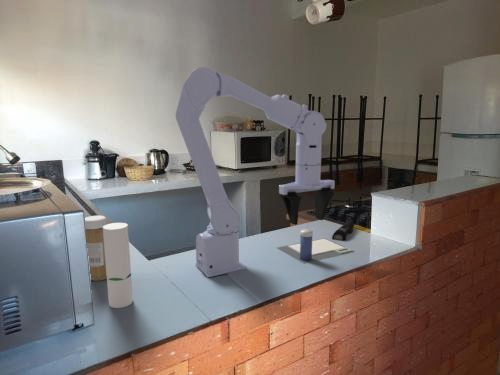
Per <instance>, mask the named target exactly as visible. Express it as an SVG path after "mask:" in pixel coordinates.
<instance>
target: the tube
mask: <svg viewBox="0 0 500 375" xmlns="http://www.w3.org/2000/svg"><path fill="white" fill-rule="evenodd" d="M128 226H129V224H128V223H126V222H112V223H106V225H104V226H103V237H104V249H105V262H106V274H107V278H106V282H107V283H106V284H107V285H106V286H107V297H108V305H109V307H111V308H112V309H121V308H122V309H123V308H125V307H128V306H130V305H131V304H132V303H133V301H134V299H133V297H134V296H133V284H132V283H133V282H132V281H133V280H132V271H131V269H132V268H131V254H130V253H131V252H130V239H129V227H128Z"/></svg>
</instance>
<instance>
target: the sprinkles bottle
mask: <svg viewBox="0 0 500 375" xmlns="http://www.w3.org/2000/svg"><path fill="white" fill-rule="evenodd" d="M104 225H107V218H106V216H104V215H99V214H98V215H90V216H87V217H85V227H86V240H87V248H88V256H89V266H90V274H91V280H90V281H93V282H98V281H104V280H107V274H106V262H105V249H104V237H103V226H104Z"/></svg>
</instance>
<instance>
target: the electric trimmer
mask: <svg viewBox="0 0 500 375" xmlns="http://www.w3.org/2000/svg"><path fill="white" fill-rule="evenodd" d="M354 227H355V223H354V220H353V219H348V220H347V221H346V222H345V223H344V224H343V225H341V226H340V227H339V228H338V229H336V230H335V231H334V232H333V234H332V236H331V239H332V240H333V241H339V242H340V241H341V242H344V241H346V239H347V236H348V235H349V234H352V233H353V230H354ZM332 240H331V241H332Z"/></svg>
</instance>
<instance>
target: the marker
mask: <svg viewBox="0 0 500 375" xmlns="http://www.w3.org/2000/svg"><path fill="white" fill-rule="evenodd" d="M299 236H300V239H299V243H300V260H302V261H310V260H312V241H313V236H314V234H313V230H312V229H305V228H304V229H300V231H299Z"/></svg>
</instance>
